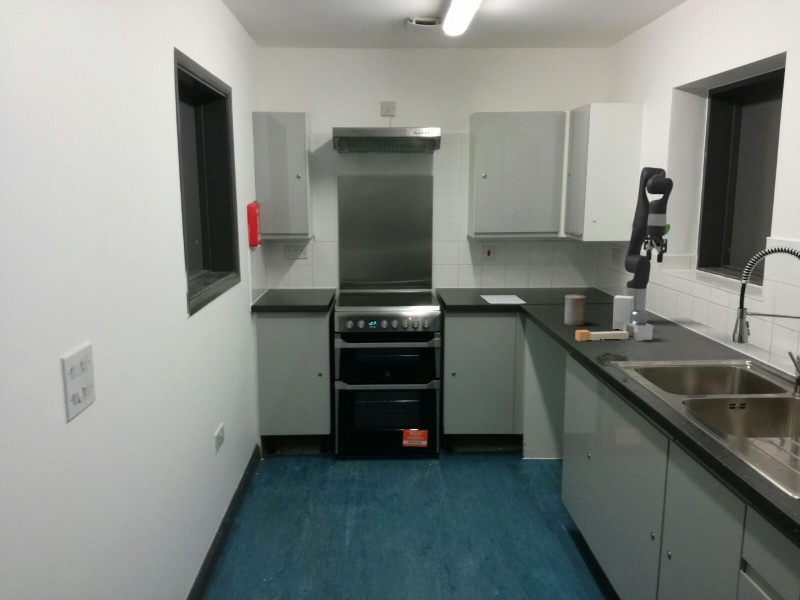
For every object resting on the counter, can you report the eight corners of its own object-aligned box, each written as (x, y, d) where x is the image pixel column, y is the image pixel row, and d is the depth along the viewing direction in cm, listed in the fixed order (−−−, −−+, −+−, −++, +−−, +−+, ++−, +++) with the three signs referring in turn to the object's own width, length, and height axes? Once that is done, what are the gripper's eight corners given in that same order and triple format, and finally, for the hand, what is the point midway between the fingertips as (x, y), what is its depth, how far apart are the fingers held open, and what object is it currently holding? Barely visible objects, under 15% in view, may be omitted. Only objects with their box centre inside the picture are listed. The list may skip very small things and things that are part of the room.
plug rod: (575, 339, 260) (575, 330, 260) (624, 337, 264) (624, 328, 263) (579, 341, 257) (579, 332, 256) (628, 339, 260) (629, 330, 259)
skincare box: (632, 328, 281) (635, 296, 278) (630, 331, 275) (632, 298, 272) (614, 326, 285) (616, 294, 282) (611, 329, 279) (613, 296, 276)
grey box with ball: (622, 334, 268) (624, 309, 266) (636, 334, 269) (638, 308, 267) (636, 341, 257) (638, 314, 255) (651, 340, 258) (654, 314, 256)
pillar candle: (587, 323, 293) (588, 292, 291) (580, 326, 285) (582, 295, 283) (567, 321, 298) (568, 291, 296) (561, 324, 290) (562, 293, 288)
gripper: (639, 223, 267) (637, 259, 270) (658, 225, 253) (655, 263, 256) (655, 223, 268) (652, 259, 271) (674, 225, 254) (671, 263, 257)
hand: (653, 261), depth 263 cm, fingers open, 8 cm apart
